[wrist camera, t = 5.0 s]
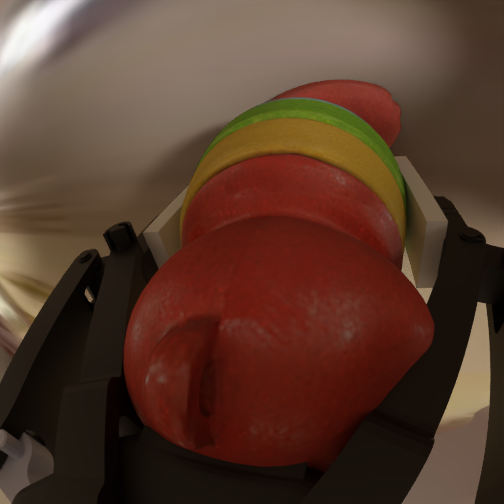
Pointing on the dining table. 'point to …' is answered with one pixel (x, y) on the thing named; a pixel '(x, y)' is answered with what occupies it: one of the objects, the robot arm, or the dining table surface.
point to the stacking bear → (283, 285)
